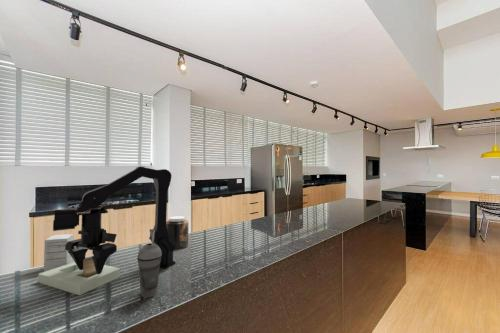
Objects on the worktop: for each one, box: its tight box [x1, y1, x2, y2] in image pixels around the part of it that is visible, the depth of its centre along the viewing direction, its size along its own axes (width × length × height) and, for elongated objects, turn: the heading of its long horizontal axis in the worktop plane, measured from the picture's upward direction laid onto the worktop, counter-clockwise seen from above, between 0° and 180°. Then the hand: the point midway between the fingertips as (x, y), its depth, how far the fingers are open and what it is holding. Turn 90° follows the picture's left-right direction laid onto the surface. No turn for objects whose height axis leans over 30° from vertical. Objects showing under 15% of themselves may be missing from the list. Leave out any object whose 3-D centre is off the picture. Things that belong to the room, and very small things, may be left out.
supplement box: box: [43, 233, 75, 272], centre depth 91 cm, size 7×7×13 cm
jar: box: [166, 215, 189, 251], centre depth 120 cm, size 12×12×15 cm
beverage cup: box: [136, 230, 162, 298], centre depth 72 cm, size 7×7×20 cm
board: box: [37, 261, 121, 296], centre depth 81 cm, size 22×14×3 cm, turn 68°
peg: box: [83, 256, 97, 278], centre depth 80 cm, size 4×4×8 cm
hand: (90, 271), depth 80 cm, fingers open, 9 cm apart
